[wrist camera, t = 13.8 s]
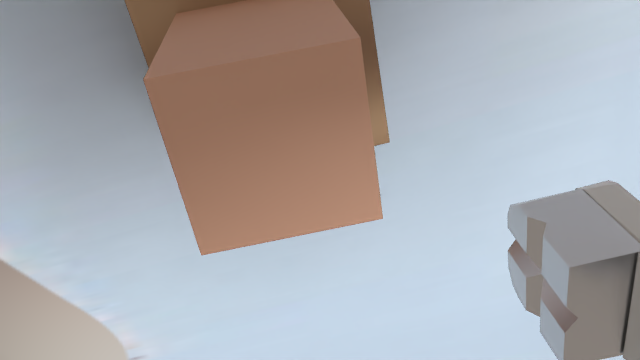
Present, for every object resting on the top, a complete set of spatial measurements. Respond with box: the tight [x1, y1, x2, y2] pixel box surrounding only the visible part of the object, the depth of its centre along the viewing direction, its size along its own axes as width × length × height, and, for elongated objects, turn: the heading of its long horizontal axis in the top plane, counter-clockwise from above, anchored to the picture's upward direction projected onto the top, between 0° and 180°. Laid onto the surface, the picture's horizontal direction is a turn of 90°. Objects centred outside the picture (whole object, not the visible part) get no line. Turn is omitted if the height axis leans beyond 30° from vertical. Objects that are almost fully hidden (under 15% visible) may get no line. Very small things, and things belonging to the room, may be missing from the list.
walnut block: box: [125, 0, 390, 146], centre depth 22 cm, size 8×8×6 cm
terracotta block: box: [143, 0, 383, 255], centre depth 17 cm, size 5×5×7 cm
